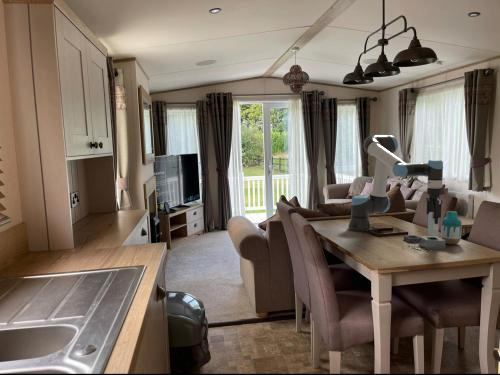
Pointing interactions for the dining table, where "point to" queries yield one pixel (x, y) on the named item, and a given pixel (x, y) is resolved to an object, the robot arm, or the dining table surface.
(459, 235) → the vase
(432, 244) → the port panel
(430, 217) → the plug
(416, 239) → the holster
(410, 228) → the dining table surface
